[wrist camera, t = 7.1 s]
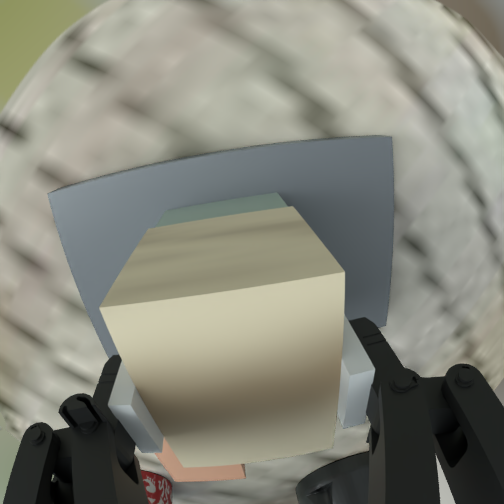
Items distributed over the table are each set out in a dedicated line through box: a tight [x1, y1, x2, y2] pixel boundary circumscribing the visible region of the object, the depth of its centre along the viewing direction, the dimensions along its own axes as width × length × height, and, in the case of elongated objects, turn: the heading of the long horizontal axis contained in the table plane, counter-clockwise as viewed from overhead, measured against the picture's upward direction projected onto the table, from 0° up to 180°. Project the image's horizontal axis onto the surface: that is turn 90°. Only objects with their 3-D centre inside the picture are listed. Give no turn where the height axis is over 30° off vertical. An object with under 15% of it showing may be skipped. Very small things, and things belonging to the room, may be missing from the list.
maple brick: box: [99, 206, 345, 468], centre depth 11 cm, size 8×6×6 cm
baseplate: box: [48, 135, 394, 359], centre depth 17 cm, size 13×20×6 cm, turn 98°
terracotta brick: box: [155, 438, 246, 482], centre depth 22 cm, size 8×6×6 cm
